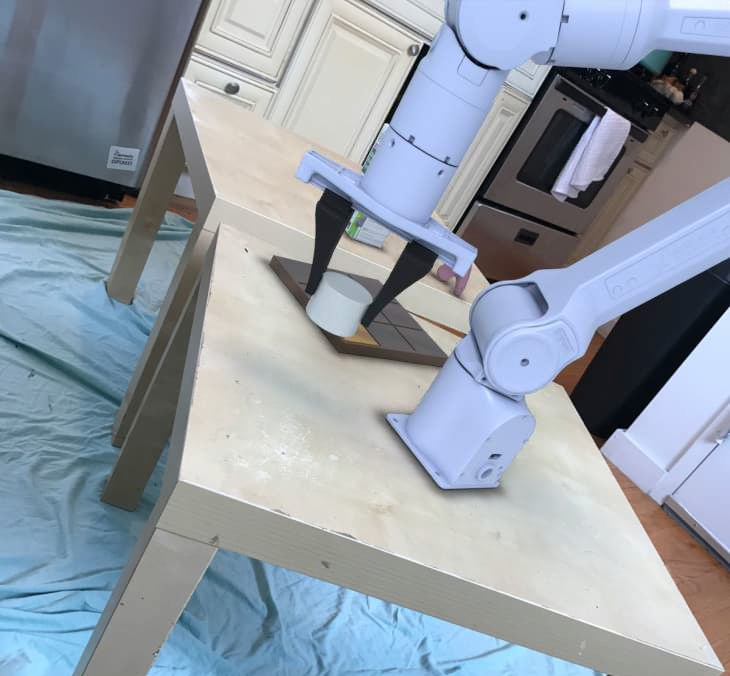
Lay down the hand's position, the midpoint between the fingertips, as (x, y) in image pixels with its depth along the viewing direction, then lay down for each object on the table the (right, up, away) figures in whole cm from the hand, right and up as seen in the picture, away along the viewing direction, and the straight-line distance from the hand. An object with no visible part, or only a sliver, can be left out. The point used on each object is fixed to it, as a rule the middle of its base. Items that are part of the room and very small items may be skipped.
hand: (338, 306), depth 60 cm
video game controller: (+12, +16, +49) cm, 52 cm away
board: (+1, +5, +23) cm, 24 cm away
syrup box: (+1, +21, +47) cm, 51 cm away
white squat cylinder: (-1, -1, +1) cm, 1 cm away
